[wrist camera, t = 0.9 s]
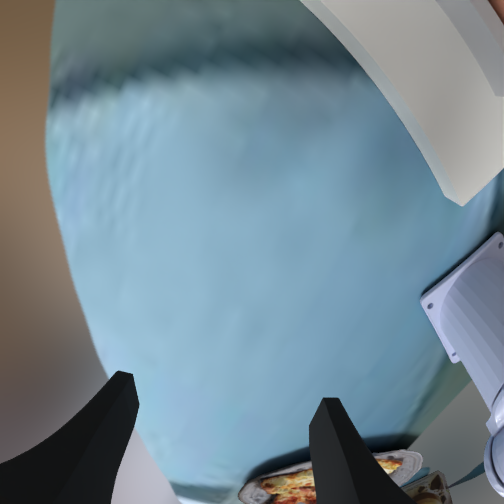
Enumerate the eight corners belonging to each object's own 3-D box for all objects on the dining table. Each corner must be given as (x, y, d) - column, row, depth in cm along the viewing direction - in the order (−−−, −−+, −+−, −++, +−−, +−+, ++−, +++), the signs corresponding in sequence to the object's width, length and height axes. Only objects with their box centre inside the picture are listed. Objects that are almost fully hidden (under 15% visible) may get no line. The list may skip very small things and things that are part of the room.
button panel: (570, 69, 10) (606, 73, 5) (444, 196, 16) (488, 222, 11) (461, -94, 5) (488, -112, 1) (270, -26, 11) (272, -66, 7)
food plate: (235, 504, 37) (234, 521, 33) (244, 443, 27) (243, 471, 24) (377, 492, 38) (381, 508, 34) (444, 423, 28) (454, 444, 25)
